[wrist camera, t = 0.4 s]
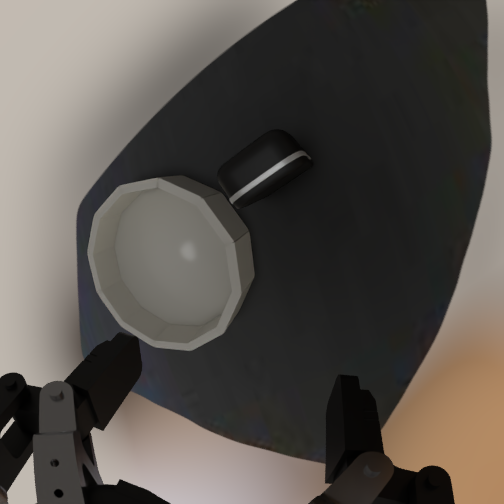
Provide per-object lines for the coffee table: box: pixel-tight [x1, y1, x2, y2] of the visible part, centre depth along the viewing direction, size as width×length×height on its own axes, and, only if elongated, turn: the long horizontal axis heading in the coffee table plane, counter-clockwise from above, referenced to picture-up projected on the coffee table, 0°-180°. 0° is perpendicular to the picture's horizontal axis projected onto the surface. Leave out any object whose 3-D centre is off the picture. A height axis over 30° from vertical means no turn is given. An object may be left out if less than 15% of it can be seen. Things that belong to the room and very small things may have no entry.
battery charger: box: [217, 129, 313, 209], centre depth 27 cm, size 7×4×11 cm, turn 126°
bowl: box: [87, 175, 255, 351], centre depth 36 cm, size 20×20×6 cm
